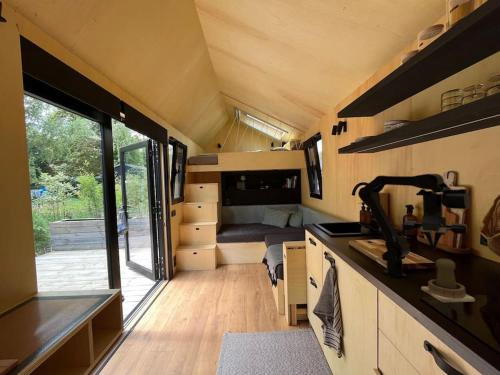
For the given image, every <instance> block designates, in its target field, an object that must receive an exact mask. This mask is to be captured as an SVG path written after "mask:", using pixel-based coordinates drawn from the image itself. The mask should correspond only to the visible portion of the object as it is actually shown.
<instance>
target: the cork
mask: <svg viewBox="0 0 500 375" xmlns="http://www.w3.org/2000/svg"><path fill="white" fill-rule="evenodd" d="M435 266H436V268H437V274H436V279H437V281H436V286H438V287H441V288H445V289H457V286H456V276H455V272H454V270H456V262H454V261H453V260H452V259H449V258H438V259H436V261H435Z"/></svg>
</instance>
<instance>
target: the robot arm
mask: <svg viewBox="0 0 500 375" xmlns="http://www.w3.org/2000/svg"><path fill="white" fill-rule="evenodd" d="M387 185H388V186H392V185H393V186H406V187H407V186H409V187H410V186H411V187H414V188H418V189H420V190H419V191H418V192H417V193H416V194H415V195H416V196H422V211H423V212H422V213H423V215H422V218H421V222H418V221H417V220H405V221H403V222H402V225H401V226H402V230H408V231H412V230H413V229H420V234H424V235H425V237H426V239H427V241H428V243H429V245H430V248H431V250H432V251H436V249H437V246H438V244H439V240H440V238H442V236H444V235H447V231H451V232H452V233H453V234H456V235H457V234H459V235H467V234H468V226H467V224H465V223H459V222H458V223H457V222H456V223H455V222H453V223H452V222H451V223H452V224H447V217H446V216H444V215H443V207H445V208H446V209H449V210H450V209H451V210H452V209H453V210H469V209H470V208H471V203H472V202H471V197H470V194H469V193H468V189H467V188H461V189H451V188H450V187H449V186H448V185H447V183H446V182H444V178H443V176H442V175H441V174H439V173H425V174H424V173H423V174H419V175H413V176H412V175H411V176H409V175H408V176H407V175H405V176H404V175H403V176H402V175H398V176H397V175H394V176H393V175H384V174H383V175H377V176H375V178H374V179H372V180H371V181H370V182H368V183H366V184H365V185H364V186H363V187H361V188H360V189H359V190H358V193H357V194H358V197H359V199H360V201H362V203H363V204H364V205H366V206H367V207H368V208H369V209H370V211H371V213H372V215H373V217H374V219H375V221H376V223H377V225H378V227H379V229H380V230H381V232H382V235H383V237H384V239H385V248H386V250H385V252H383V253H382V254H381V258H382V260H383V261H384V262H386V263H385V265H386V270H383V271H382V273H384V274H386V275H387V276H389V277H390V278H401V277H407V276H408V275H407V274H405V273H403V272H404V270H403V269H404V268H403V267H404V265H403V260H405V259H406V256H408V255H409V254H410V251H411V247H410V246H411V244H410V243H409V242H408V240H407V238H406V236H400V235H399V234H398V233H397V231H396V229H395V227H394V225H393V224H392V222H391V220H390V219H389V218H390V217H389V216H388V215H387V213H386V211H385V209H384V208H383V205H382V204H381V195H380V192H382V191H383V189H384V188H385V186H387ZM433 232H434V236H433Z"/></svg>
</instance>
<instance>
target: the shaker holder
mask: <svg viewBox="0 0 500 375" xmlns="http://www.w3.org/2000/svg"><path fill="white" fill-rule="evenodd" d="M436 281H437V278H435V279H434V278H433V279H432V278H431V279H430V280H428V282H427V283H428V284H427V285H428V286H424V285H423V286H421V288H420V290H422V291H423V292H425V293H427V294H428V295H430V296H431V297H433V298H435V299H436V300H438V301H440V302H441V303H466V302H468V303H469V302H470V303H471V302H475V297H473V296H471V295H469V294H467V292H466V291H467V290H466V287H465V285H463V284H461V283H459V282H456V286H457V289H445V288H441V287H438V286H436Z"/></svg>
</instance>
